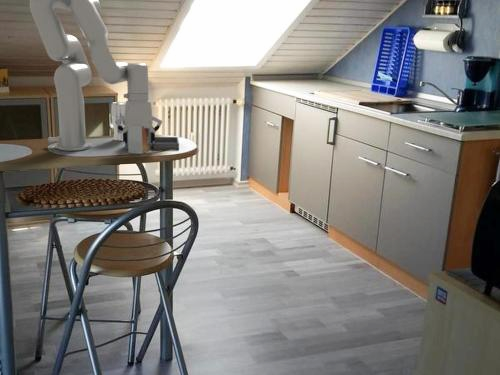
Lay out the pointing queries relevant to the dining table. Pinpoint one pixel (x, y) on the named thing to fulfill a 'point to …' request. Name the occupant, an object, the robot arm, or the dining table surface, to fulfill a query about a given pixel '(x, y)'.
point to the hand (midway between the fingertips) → (139, 142)
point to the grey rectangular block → (149, 140)
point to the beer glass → (117, 113)
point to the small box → (138, 139)
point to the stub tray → (166, 143)
